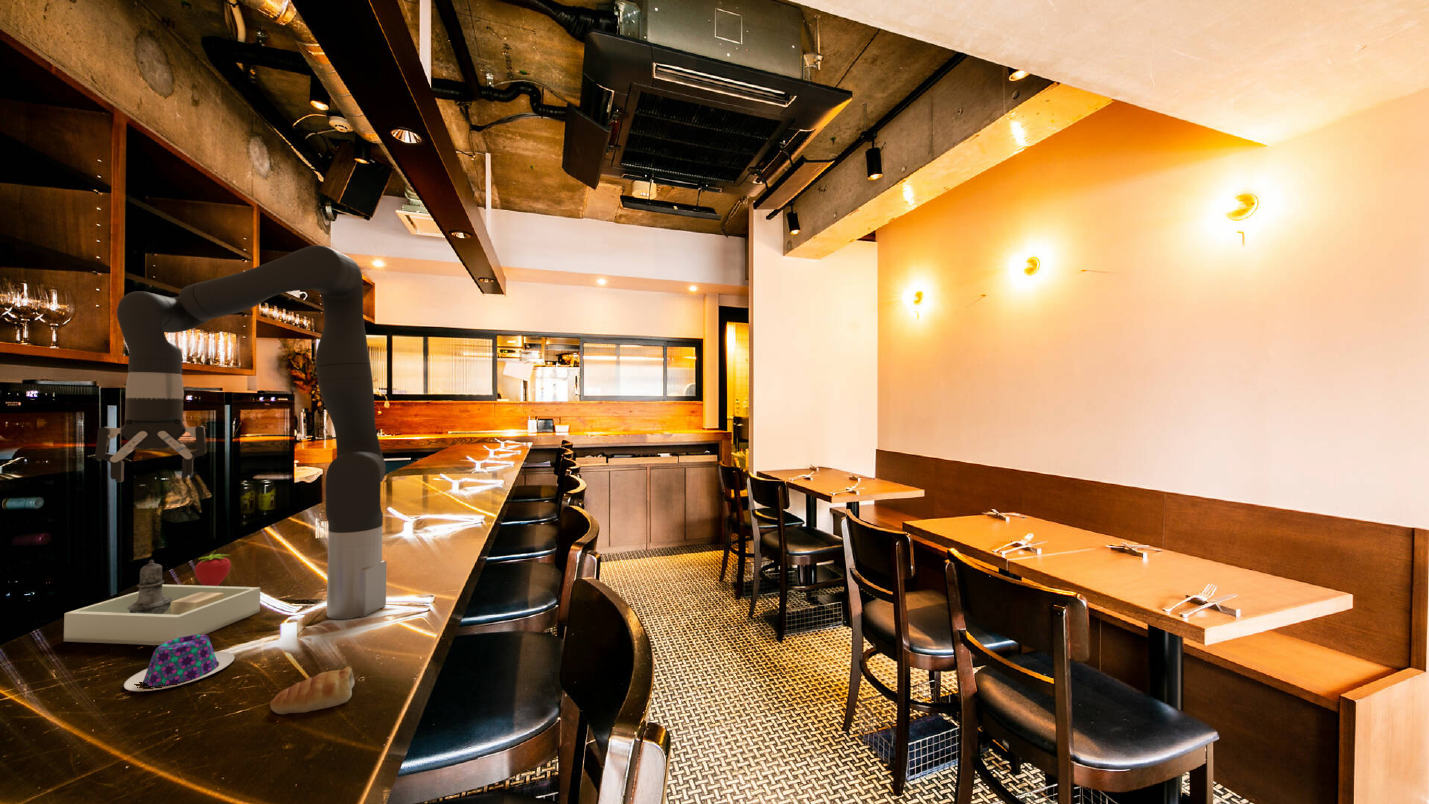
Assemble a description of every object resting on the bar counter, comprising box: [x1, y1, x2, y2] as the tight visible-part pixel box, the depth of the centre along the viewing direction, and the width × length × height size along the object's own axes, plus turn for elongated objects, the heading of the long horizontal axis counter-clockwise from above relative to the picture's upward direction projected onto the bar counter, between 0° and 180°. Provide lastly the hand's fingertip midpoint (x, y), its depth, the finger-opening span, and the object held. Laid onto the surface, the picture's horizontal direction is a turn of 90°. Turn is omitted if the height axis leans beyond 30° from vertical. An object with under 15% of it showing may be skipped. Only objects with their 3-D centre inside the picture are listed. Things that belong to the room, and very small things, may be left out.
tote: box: [63, 583, 261, 646], centre depth 97 cm, size 22×15×5 cm
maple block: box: [171, 592, 224, 615], centre depth 96 cm, size 5×5×5 cm
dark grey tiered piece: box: [127, 559, 173, 614], centre depth 97 cm, size 6×6×12 cm
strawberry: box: [194, 551, 232, 586], centre depth 115 cm, size 6×8×10 cm
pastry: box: [269, 666, 355, 715], centre depth 72 cm, size 9×7×4 cm
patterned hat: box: [123, 634, 236, 692], centre depth 79 cm, size 12×12×5 cm
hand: (153, 479), depth 97 cm, fingers open, 8 cm apart
